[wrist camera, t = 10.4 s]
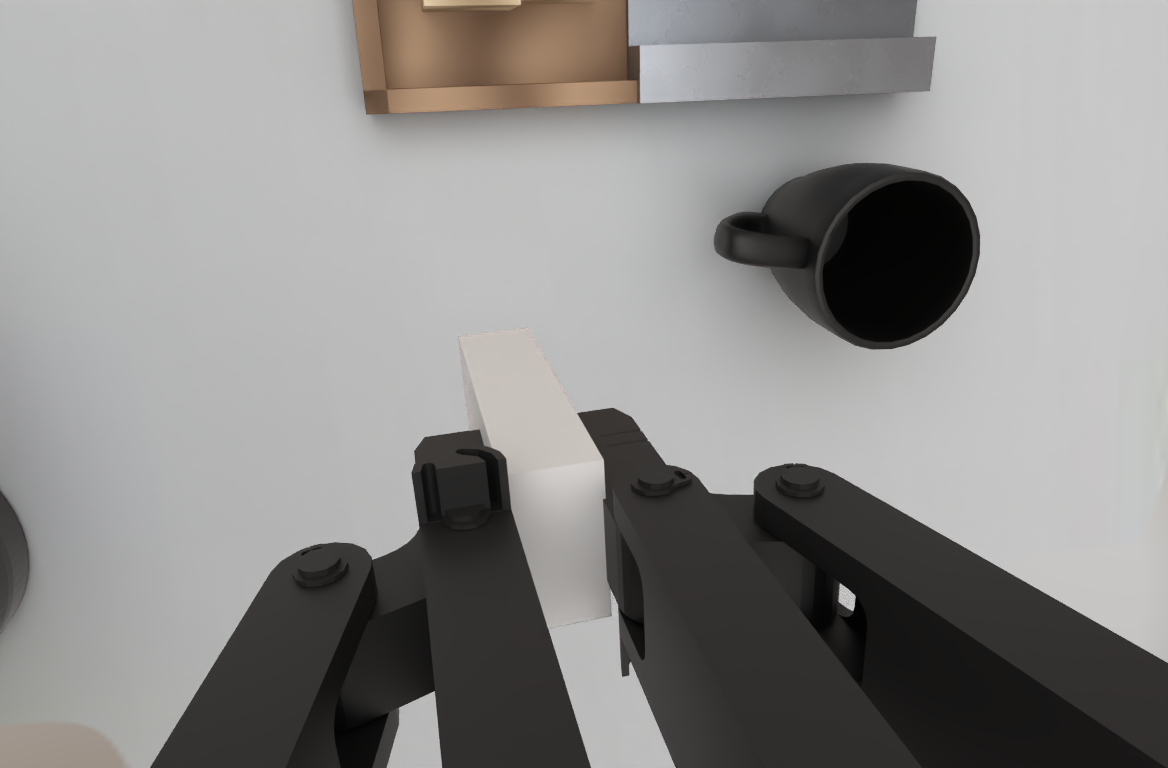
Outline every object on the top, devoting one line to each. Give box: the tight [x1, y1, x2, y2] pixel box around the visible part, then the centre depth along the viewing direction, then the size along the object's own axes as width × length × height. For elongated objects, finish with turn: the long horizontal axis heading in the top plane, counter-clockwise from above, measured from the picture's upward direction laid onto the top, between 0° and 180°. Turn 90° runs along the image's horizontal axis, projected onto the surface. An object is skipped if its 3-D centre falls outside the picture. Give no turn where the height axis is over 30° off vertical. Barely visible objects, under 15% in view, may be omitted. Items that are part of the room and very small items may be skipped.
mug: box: [714, 163, 980, 349], centre depth 40 cm, size 8×12×10 cm
